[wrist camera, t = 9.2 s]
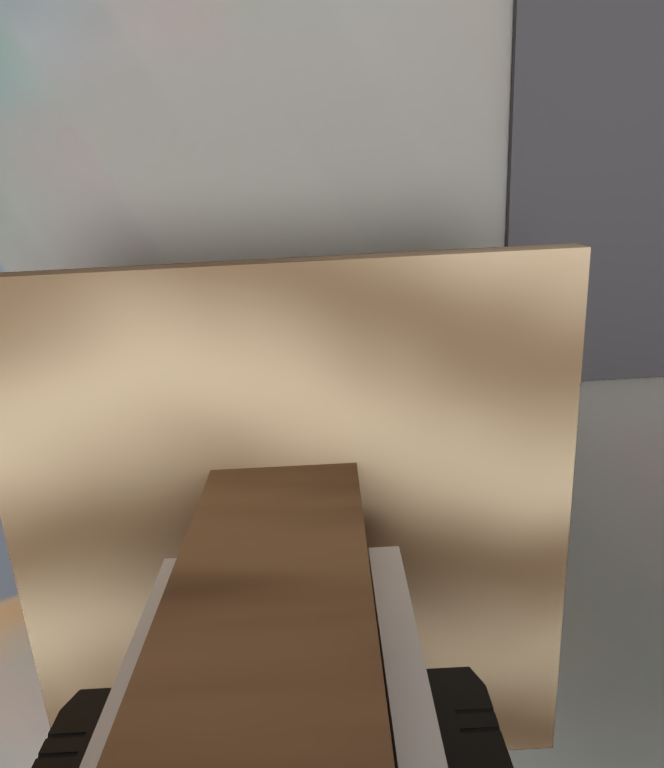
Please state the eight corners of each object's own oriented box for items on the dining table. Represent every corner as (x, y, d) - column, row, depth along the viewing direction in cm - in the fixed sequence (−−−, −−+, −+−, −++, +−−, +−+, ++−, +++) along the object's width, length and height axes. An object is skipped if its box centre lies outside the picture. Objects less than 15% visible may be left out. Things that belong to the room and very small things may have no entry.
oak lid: (542, 722, 21) (755, 1243, 11) (72, 746, 21) (-168, 1290, 11) (575, 243, 16) (1020, 349, 6) (-34, 274, 16) (-658, 435, 6)
